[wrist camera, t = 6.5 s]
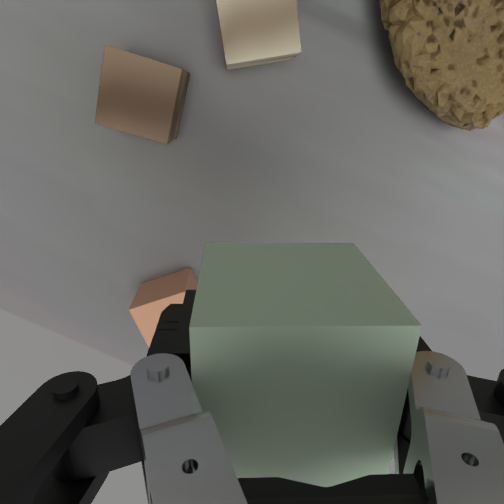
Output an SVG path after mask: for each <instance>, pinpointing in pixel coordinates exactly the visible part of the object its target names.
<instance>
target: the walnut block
mask: <svg viewBox="0 0 504 504" xmlns="http://www.w3.org/2000/svg"><path fill="white" fill-rule="evenodd" d="M189 76H190V73H188V72H186V71H185V70H183V69H181V68H178V67H175V66H172V65H168V64H165V63H162V62H159V61H156V60H153V59H149V58H146V57H143V56H140V55H137V54H134V53H130V52H127V51H124V50H121V49H118V48H115V47H111V46H108V45H105V48H104V55H103V63H102V71H101V79H100V86H99V94H98V102H97V110H96V117H95V124H98V125H101V126H105V127H108V128H112V129H115V130H119V131H122V132H126V133H129V134H133V135H136V136H140V137H143V138H147V139H150V140H154V141H157V142H161V143H164V144H168V143H170V142H171V141H173V140H174V139H176V138H177V134H178V129H179V125H180V120H181V115H182V110H183V105H184V100H185V96H186V91H187V86H188V81H189Z"/></svg>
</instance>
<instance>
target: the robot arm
mask: <svg viewBox="0 0 504 504" xmlns="http://www.w3.org/2000/svg"><path fill="white" fill-rule="evenodd" d="M195 295H196V290H186V293H185V297H184V301H183V304H170V305H169V306H167V307H166V308H165V309H164V310H163V311H162V312H161V315H160V318H159V321H158V324H157V327H156V331H155V333H154V336H153V338H152V341H151V344H150V347H149V350H148V353H147V356H146V357H145V358H143V359H141V360H140V361H138V362H137V363H136V364H135V365H134V366H133V368H132V370H131V373H130V374H131V375H129V376H127V377H125V378H123V379H119V380H116V381H112V382H108V383H103V384H99V385H97V381H96V378H95V377H94V376H92V375H91V374H89V373H86V372H80V371H77V372H68V373H64V374H61V375H58V376H56V377H53V378H52V379H50V380H48V381H47V382H45V383H44V384H43V385H42V386H41V387H40V388H38V389H37V390H36V392H35V393H33V394H32V395H31V396H30V397H29V398H28V399H27V400H26V401H25V402H24V403H23V404H22V405H21V406H20V407H19V408H18V409H17V410H16V411H15V412H14V413H13V414H12V415H11V416H10V417H9V418H8V419H7V420H6V421H5V422H4V423H3V424H2V425H1V426H0V504H91V503H92V501H93V499H94V498H95V496H96V494H97V493H98V491H99V489H100V488H101V486H102V484H103V483H104V481H105V479H106V477H107V475H108V473H109V471H112V470H115V469H118V468H122V467H124V466H128V465H131V464H134V463H137V462H140V461H141V463H142V469H143V475H144V481H145V488H146V494H147V500H148V504H504V369H503V370H501V372H500V374H499V377H498V380H497V381H492V380H487V379H482V378H477V377H473V376H468V375H466V372H465V370H464V368H463V367H462V366H461V365H460V364H459V363H458V362H457V361H455V360H454V359H452V358H450V357H448V356H446V355H444V354H441V353H437V352H433V351H431V349H430V348H429V347H428V345H427V344H426V343H425V342H424V340H423V339H422V338H421V337H419V341H418V346H417V350H416V354H415V359H414V363H413V368H412V372H411V376H410V381H409V385H408V390H407V394H406V398H405V403H404V407H403V412H402V416H401V420H400V425H399V429H398V434H397V438H396V442H395V447H394V460H395V474H375V475H367V476H364V477H360V478H357V479H354V480H351V481H347V482H344V483H341V484H338V485H334V486H331V487H321V486H317V485H312V484H307V483H303V482H298V481H294V480H289V479H285V478H280V477H261V478H237V476H236V474H235V471H234V469H233V466H232V464H231V461H230V459H229V456H228V454H227V452H226V449H225V447H224V444H223V442H222V439H221V437H220V434H219V432H218V429H217V427H216V424H215V422H214V420H213V417H212V415H211V413H210V412H209V411H208V410H206V411H202V408H201V406H200V403H199V400H198V398H197V395H196V392H195V390H194V387H193V385H192V376H191V355H190V335H189V325H190V320H191V315H192V310H193V305H194V300H195Z"/></svg>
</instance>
